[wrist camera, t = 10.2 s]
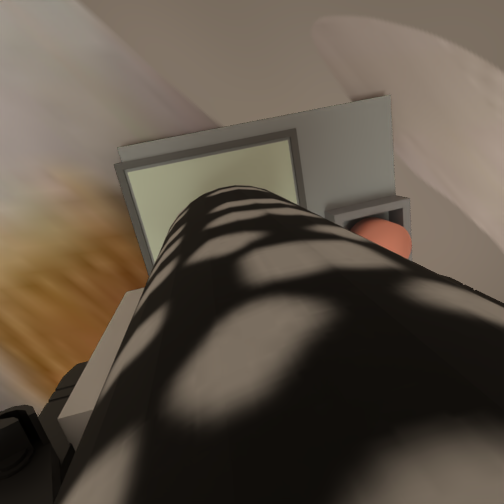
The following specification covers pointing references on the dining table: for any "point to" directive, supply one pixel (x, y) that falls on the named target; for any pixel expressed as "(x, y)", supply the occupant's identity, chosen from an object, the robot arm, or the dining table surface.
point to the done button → (385, 234)
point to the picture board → (270, 168)
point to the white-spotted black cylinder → (295, 372)
